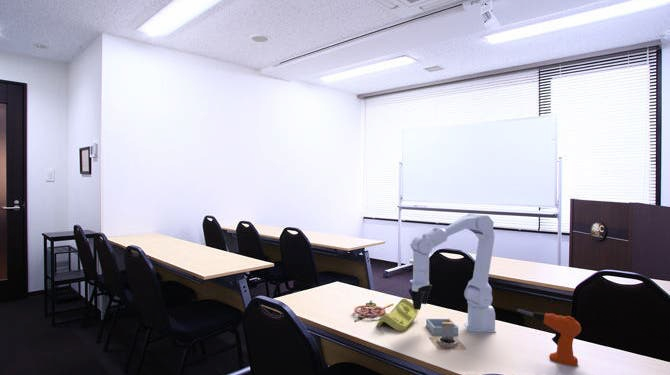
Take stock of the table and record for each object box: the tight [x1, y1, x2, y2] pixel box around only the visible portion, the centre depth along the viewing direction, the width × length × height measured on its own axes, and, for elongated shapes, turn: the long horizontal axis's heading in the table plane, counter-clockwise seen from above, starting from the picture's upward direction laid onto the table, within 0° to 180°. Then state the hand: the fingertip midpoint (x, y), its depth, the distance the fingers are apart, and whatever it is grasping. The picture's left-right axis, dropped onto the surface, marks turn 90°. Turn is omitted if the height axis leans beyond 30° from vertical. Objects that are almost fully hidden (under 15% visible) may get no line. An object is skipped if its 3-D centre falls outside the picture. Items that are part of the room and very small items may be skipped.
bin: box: [425, 318, 459, 336], centre depth 141 cm, size 9×9×3 cm
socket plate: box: [428, 336, 468, 351], centre depth 129 cm, size 10×10×1 cm
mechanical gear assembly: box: [353, 299, 394, 323], centre depth 161 cm, size 30×4×15 cm
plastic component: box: [376, 298, 420, 332], centre depth 149 cm, size 20×7×10 cm
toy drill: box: [516, 308, 582, 367], centre depth 121 cm, size 5×19×15 cm, turn 54°
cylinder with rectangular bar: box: [440, 321, 455, 343], centre depth 129 cm, size 4×4×7 cm
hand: (420, 306), depth 139 cm, fingers open, 7 cm apart
